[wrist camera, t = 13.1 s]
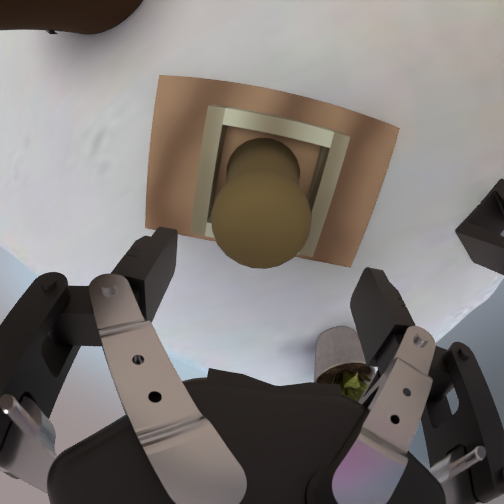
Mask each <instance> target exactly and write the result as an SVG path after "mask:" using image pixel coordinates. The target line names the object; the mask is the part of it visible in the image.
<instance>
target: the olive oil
mask: <svg viewBox="0 0 504 504" xmlns="http://www.w3.org/2000/svg"><path fill="white" fill-rule="evenodd" d="M141 1H142V0H0V30H46V31H47V32H48V33H50V34H57V33H55V32H54V30H55V31H65V32H73V33H80V34H95V33H100V32H103V31H106V30H108V29H110V28H112V27H114V26H116V25H117V24H119V23H120V22H122V21H123V20H124V19H126V18H127V17H128V16H129V15H130V14H131V13H132V12H133V11H134V10H135V9H136V8H137V7H138V5H139V4H140V3H141Z"/></svg>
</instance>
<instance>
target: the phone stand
mask: <svg viewBox="0 0 504 504" xmlns="http://www.w3.org/2000/svg"><path fill="white" fill-rule="evenodd" d="M503 230H504V179H500V180H499V181H498V183H497V184H496V185H495V186H494V187H493V189H492V190H491V191H490V192H489V193H488V195H487V196H486V197H485V198H484V199H483V200H482V201H481V204H480V205H478V206H477V207H476V208H475V209H474V210H473V212H472V213H471V214H470V215H469V216H468V217H467V218H466V219H465V220H464V221H463V222H462V223H461V224H460V226H459V227H458V228H457V229H456V233H457V234H458V236H459V238H460V239H461V241H462V243H463V245H464V246H465V248H466V250H467V251H468V253H469V255H470V257H471V259H472V261H473V262H474V263H476V264H479V265H481V266H483V267H486V268H488V269H490V270H493V271H495V272H497V273H500V274H502V275H504V237H503V236H501V235H499V234H500V233H501V232H502V231H503Z"/></svg>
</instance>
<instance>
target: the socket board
mask: <svg viewBox="0 0 504 504" xmlns="http://www.w3.org/2000/svg"><path fill="white" fill-rule="evenodd" d="M399 129H400V128H398V127H395V126H393V125H390V124H388V123H385V122H382V121H380V120H377V119H374V118H371V117H369V116H366V115H363V114H360V113H357V112H354V111H351V110H348V109H345V108H342V107H339V106H335V105H332V104H329V103H325V102H322V101H318V100H314V99H311V98H307V97H303V96H299V95H295V94H290V93H286V92H282V91H277V90H272V89H267V88H262V87H257V86H252V85H246V84H240V83H233V82H226V81H219V80H211V79H202V78H192V77H181V76H165V75H160V76H159V81H158V88H157V94H156V101H155V108H154V115H153V123H152V132H151V141H150V152H149V163H148V177H147V194H146V219H145V228H148V229H154V230H157V228H158V227H159V226H161V227H166V228H172V229H177V231H178V234H180V235H185V236H190V237H196V238H201V239H206V240H211V241H216V239H215V237H214V234H213V232H212V224H211V211H212V208H213V205H214V202H215V199H216V197H217V195H218V194H219V192H220V191H221V190H222V188H223V187H224V186H225V184H226V167H227V164H228V161H229V158H230V156H231V155H232V153H233V152H234V151H235V149H236V148H237V147H238V146H240V145H241V144H243V143H244V142H246V141H248V140H252V139H255V138H271V139H274V140H277V141H280V142H282V143H283V144H285V145H286V146H287V147H288V148H290V149H291V150H292V152H293V153H294V155H295V156H296V158H297V160H298V164H299V168H300V179H299V187H300V188H301V190H302V192H303V193H304V195H305V196H306V198H307V200H308V202H309V206H310V211H311V215H312V221H311V229H310V234H309V237H308V239H307V241H306V243H305V245H304V247H303V249H302V250H301V251H300V252H299V253H298V254H297V255H296V256H295V257H299V258H304V259H310V260H315V261H320V262H325V263H330V264H335V265H340V266H345V267H351V265H352V262H353V260H354V258H355V255H356V253H357V250H358V248H359V245H360V243H361V240H362V238H363V235H364V233H365V230H366V228H367V225H368V222H369V220H370V217H371V215H372V212H373V209H374V206H375V204H376V201H377V198H378V195H379V192H380V189H381V187H382V184H383V181H384V178H385V175H386V172H387V169H388V165H389V162H390V159H391V156H392V153H393V149H394V146H395V143H396V139H397V136H398V132H399Z"/></svg>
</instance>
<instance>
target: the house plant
mask: <svg viewBox="0 0 504 504" xmlns="http://www.w3.org/2000/svg"><path fill="white" fill-rule="evenodd" d="M374 374H375V369H374V367H373V366H366V362H365V358H364V354H363V351H362V347H361V343H360V340H359V339H358V337H357V335H356V333H355V332H354V330H352V329H351V328H349V327H344V326H340V327H335V328H331V329H328V330H326V331H324V332H323V333H322V334H321V335H320V336H319V337H318V339H317V343H316V359H315V373H314V383H324V384H340V390H341V394H342V395H345V396H347V397H350V398H352V399H354V400H356V401H357V402H358V401H359V399H360V398H361V396H362V395H363V393H364V391H365V390H366V388H367V386H368V385H369V383H370V381H371V379H372V378H373V376H374Z"/></svg>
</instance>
